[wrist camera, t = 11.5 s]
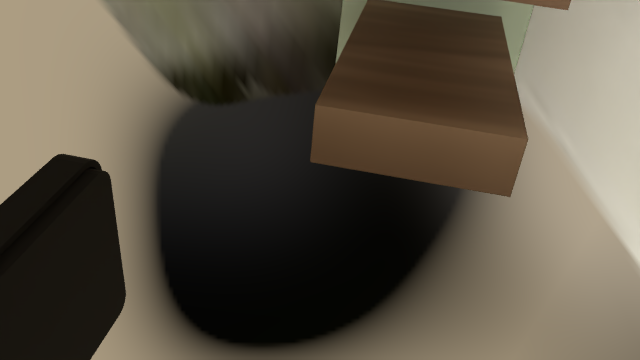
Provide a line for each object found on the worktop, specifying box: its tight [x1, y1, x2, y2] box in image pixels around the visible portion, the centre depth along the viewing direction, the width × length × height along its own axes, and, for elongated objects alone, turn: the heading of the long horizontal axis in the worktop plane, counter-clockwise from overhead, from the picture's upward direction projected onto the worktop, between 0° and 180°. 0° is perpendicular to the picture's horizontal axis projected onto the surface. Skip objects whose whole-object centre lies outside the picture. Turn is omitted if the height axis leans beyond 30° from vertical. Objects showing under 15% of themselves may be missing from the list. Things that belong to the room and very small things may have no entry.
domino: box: [310, 0, 528, 197], centre depth 18 cm, size 2×5×10 cm, turn 85°
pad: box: [336, 0, 534, 72], centre depth 23 cm, size 6×7×1 cm
